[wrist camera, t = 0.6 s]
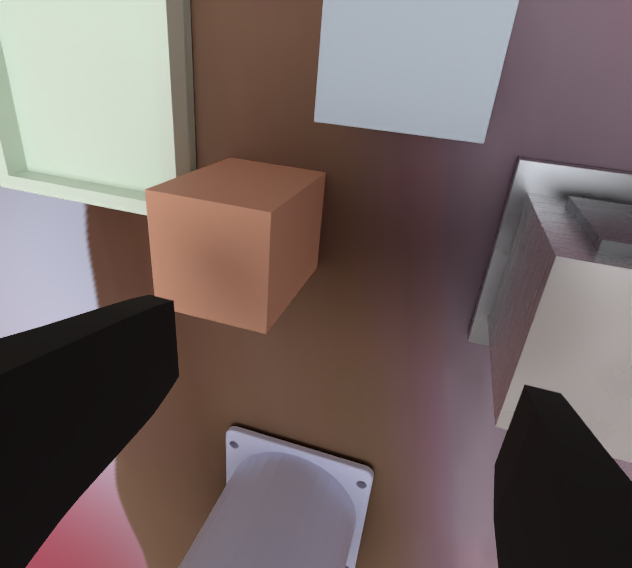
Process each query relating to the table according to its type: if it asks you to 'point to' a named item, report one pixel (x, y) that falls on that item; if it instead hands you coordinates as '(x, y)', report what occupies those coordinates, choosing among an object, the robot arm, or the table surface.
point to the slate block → (412, 65)
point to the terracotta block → (235, 240)
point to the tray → (96, 98)
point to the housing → (563, 296)
